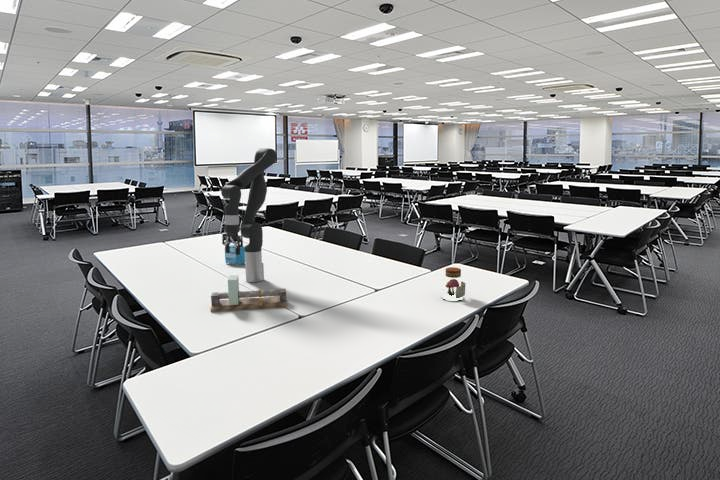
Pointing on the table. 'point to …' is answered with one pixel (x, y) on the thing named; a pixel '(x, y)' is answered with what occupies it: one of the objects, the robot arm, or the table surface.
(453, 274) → the jar with lid
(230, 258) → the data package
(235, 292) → the pale green rectangular block
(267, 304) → the pipe stand
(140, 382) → the table surface
